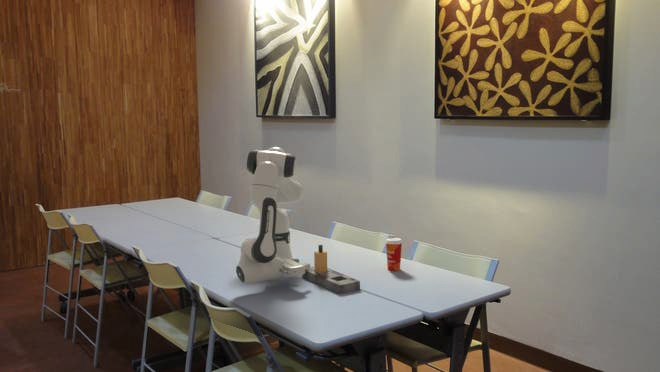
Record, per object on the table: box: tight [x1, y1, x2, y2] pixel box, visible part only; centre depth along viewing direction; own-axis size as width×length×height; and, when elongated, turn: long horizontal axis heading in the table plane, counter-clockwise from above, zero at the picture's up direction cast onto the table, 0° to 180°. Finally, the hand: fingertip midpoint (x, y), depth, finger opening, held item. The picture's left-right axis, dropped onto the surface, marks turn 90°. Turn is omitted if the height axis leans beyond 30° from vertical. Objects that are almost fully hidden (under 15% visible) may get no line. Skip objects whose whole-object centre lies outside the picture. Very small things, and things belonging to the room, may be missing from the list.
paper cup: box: [385, 237, 403, 272], centre depth 268 cm, size 8×8×14 cm
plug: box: [313, 244, 328, 273], centre depth 255 cm, size 4×4×15 cm
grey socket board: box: [301, 266, 361, 295], centre depth 250 cm, size 30×10×4 cm, turn 33°
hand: (303, 262), depth 251 cm, fingers open, 8 cm apart
